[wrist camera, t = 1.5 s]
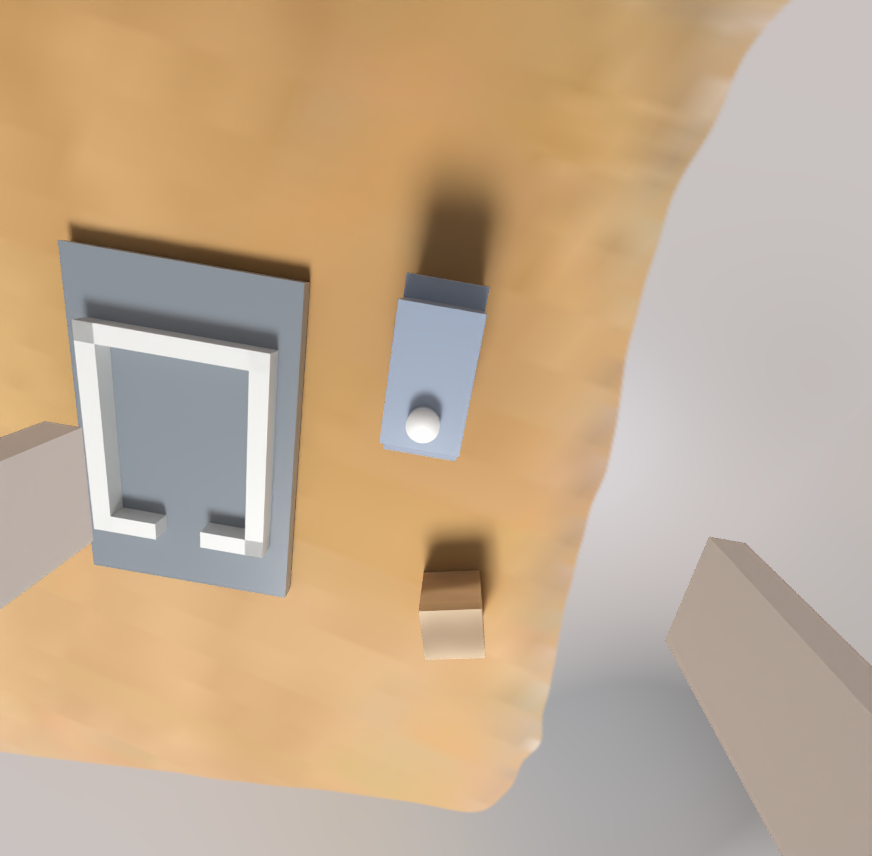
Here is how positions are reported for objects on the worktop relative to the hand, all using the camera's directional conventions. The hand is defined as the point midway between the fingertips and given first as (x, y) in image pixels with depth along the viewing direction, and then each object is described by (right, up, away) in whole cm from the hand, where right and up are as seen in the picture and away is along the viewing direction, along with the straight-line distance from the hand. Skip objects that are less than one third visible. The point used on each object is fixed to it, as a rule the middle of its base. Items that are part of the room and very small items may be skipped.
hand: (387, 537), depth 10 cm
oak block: (+2, -10, +24) cm, 26 cm away
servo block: (+1, +7, +18) cm, 19 cm away
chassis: (-15, +2, +21) cm, 26 cm away
